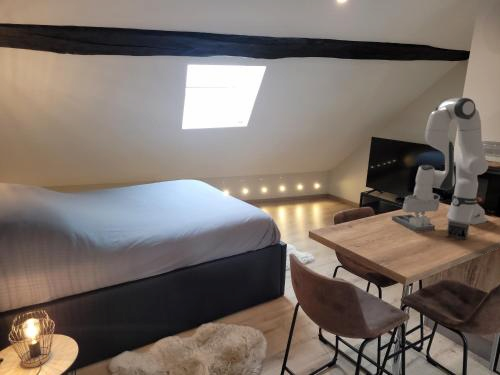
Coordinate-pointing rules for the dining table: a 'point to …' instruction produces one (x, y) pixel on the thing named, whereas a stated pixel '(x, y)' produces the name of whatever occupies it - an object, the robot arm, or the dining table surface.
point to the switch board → (405, 221)
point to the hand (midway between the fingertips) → (418, 219)
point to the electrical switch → (457, 229)
